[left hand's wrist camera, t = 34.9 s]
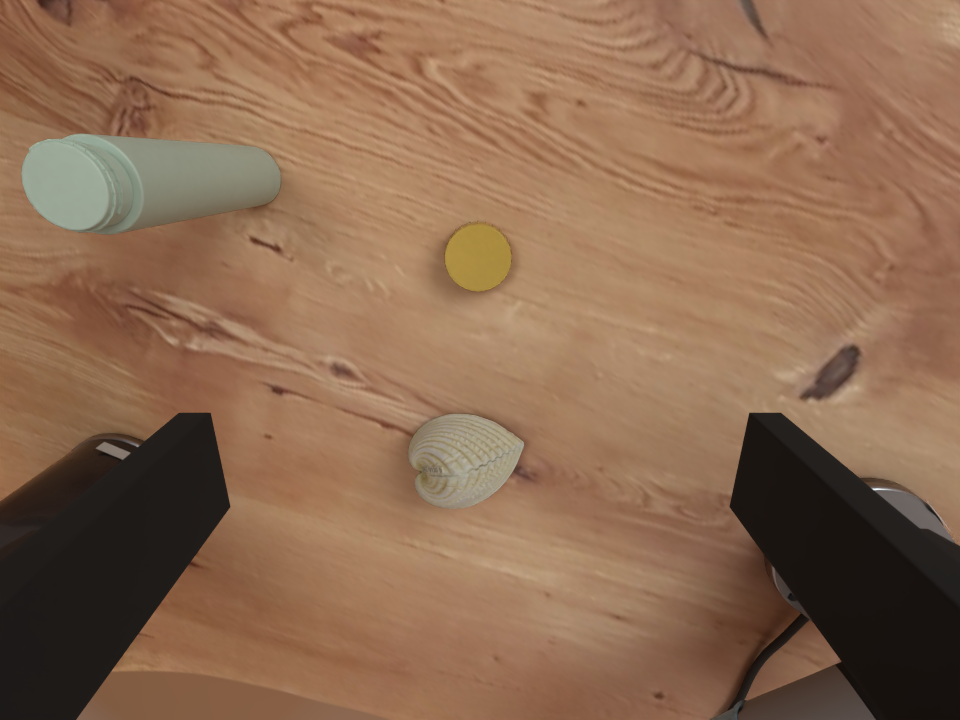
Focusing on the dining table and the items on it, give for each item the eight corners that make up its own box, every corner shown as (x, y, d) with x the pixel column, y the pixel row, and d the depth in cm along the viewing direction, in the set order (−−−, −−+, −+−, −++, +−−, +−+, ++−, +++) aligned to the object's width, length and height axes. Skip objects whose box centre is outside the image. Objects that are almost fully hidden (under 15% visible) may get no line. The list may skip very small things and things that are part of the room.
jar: (292, 187, 38) (139, 207, 21) (248, 216, 39) (66, 258, 22) (257, 134, 37) (62, 109, 20) (212, 165, 37) (-13, 167, 20)
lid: (457, 211, 38) (456, 213, 37) (520, 234, 39) (522, 238, 37) (436, 274, 40) (434, 279, 38) (497, 295, 41) (498, 301, 39)
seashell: (382, 429, 42) (454, 419, 38) (448, 411, 49) (516, 400, 44) (402, 526, 42) (477, 528, 37) (465, 494, 49) (536, 492, 44)
